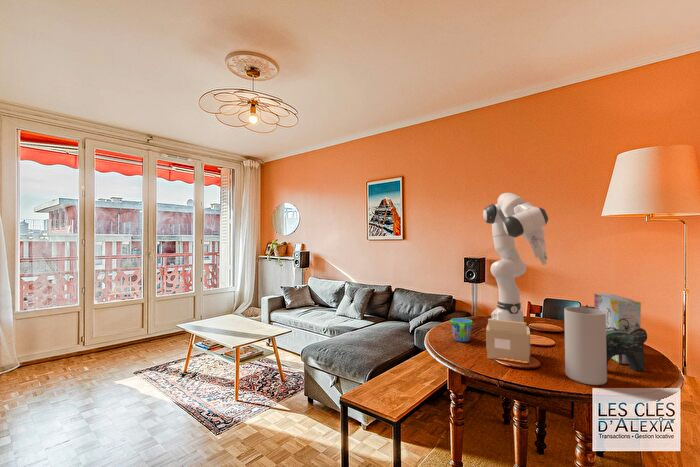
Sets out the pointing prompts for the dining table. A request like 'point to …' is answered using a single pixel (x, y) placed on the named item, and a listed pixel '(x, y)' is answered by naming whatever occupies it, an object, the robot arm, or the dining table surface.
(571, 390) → the dining table surface
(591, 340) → the cylinder vase
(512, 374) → the dining table surface
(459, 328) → the snack cup
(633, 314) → the snack box
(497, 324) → the flap
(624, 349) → the game controller
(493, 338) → the carton
